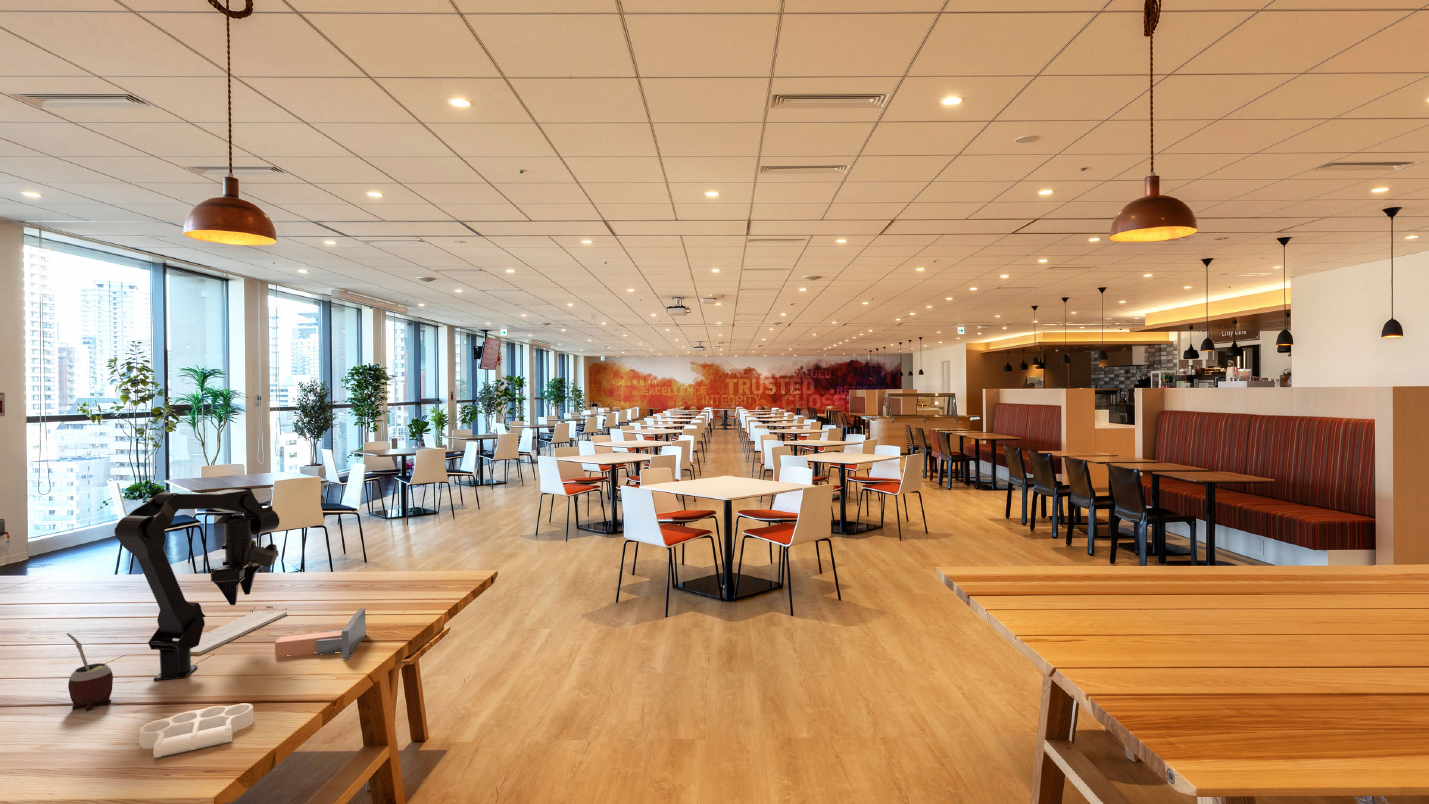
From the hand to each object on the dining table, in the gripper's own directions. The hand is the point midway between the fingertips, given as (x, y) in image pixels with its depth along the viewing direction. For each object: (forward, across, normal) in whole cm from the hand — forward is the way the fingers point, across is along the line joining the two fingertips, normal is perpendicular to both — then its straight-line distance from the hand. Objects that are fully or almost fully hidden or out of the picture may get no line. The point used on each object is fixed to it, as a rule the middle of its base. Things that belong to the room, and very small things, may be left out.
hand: (240, 599), depth 186 cm
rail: (+12, -8, -19) cm, 24 cm away
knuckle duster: (+13, -51, -10) cm, 53 cm away
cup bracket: (+12, -8, -25) cm, 29 cm away
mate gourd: (+12, -30, +18) cm, 37 cm away
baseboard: (+13, +12, +8) cm, 20 cm away
